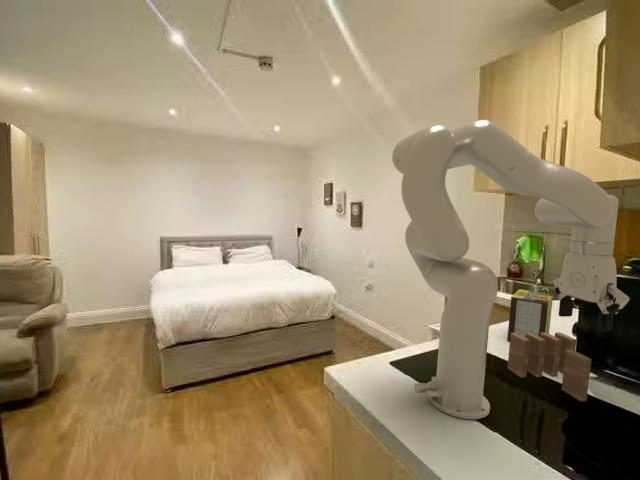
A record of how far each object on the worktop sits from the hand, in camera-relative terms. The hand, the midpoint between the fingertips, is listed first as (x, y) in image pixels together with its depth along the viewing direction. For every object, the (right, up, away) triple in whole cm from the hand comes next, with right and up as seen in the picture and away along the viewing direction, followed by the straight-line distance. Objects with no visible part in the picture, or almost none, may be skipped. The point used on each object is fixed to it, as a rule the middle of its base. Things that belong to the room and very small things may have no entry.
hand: (583, 322), depth 76 cm
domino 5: (-1, -17, +1) cm, 18 cm away
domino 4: (+5, -17, +13) cm, 22 cm away
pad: (+9, -17, +14) cm, 24 cm away
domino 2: (-4, -16, +12) cm, 21 cm away
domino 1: (-9, -16, +11) cm, 22 cm away
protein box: (+10, -15, +36) cm, 41 cm away
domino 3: (0, -17, +13) cm, 21 cm away
